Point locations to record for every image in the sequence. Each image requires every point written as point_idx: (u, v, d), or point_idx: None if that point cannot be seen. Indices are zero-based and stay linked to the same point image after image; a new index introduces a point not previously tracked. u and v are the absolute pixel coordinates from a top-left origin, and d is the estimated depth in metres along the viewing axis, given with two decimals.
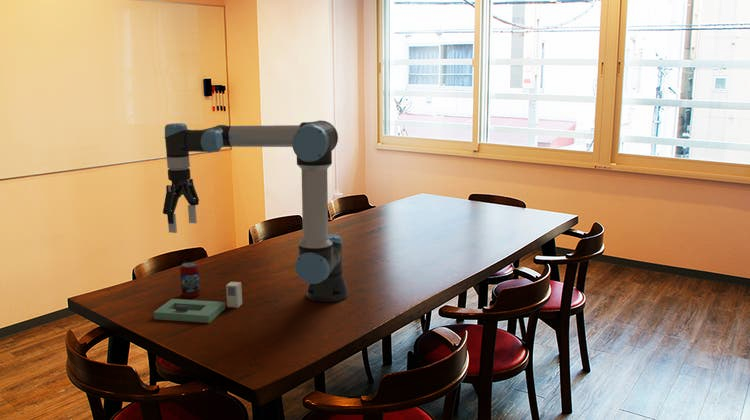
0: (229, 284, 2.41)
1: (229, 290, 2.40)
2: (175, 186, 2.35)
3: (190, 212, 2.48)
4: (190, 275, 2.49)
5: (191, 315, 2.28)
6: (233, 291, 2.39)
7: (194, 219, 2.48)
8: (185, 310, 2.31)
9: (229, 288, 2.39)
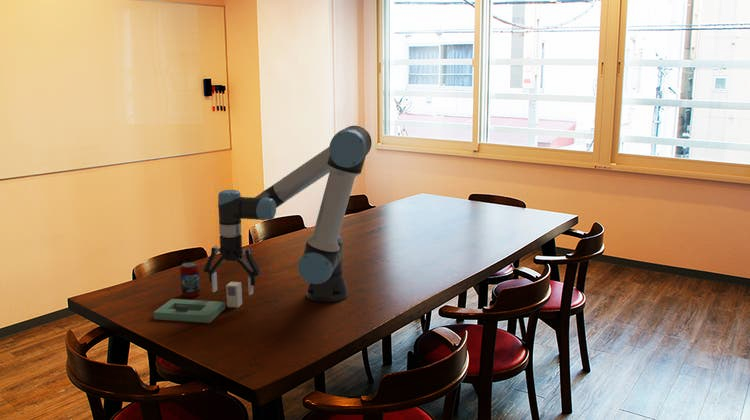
0: (229, 284, 2.41)
1: (229, 290, 2.40)
2: (219, 249, 2.39)
3: None
4: (190, 275, 2.49)
5: (191, 315, 2.28)
6: (233, 291, 2.39)
7: None
8: (185, 310, 2.31)
9: (229, 288, 2.39)
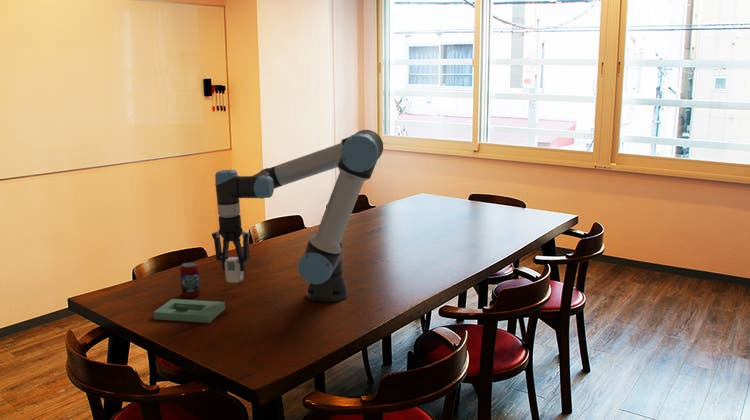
0: (228, 259, 2.39)
1: (229, 265, 2.37)
2: (218, 232, 2.37)
3: None
4: (190, 275, 2.49)
5: (191, 315, 2.28)
6: (233, 266, 2.37)
7: None
8: (185, 310, 2.31)
9: (228, 263, 2.37)
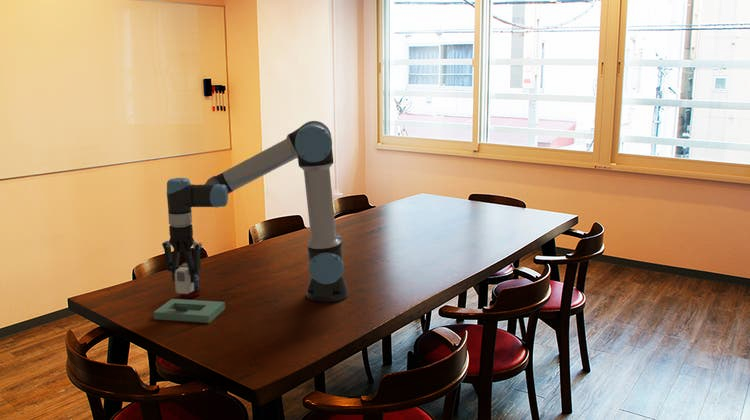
0: (179, 269, 2.32)
1: (178, 275, 2.30)
2: (169, 242, 2.30)
3: None
4: None
5: (191, 315, 2.28)
6: (182, 276, 2.30)
7: None
8: (185, 310, 2.31)
9: (178, 273, 2.30)
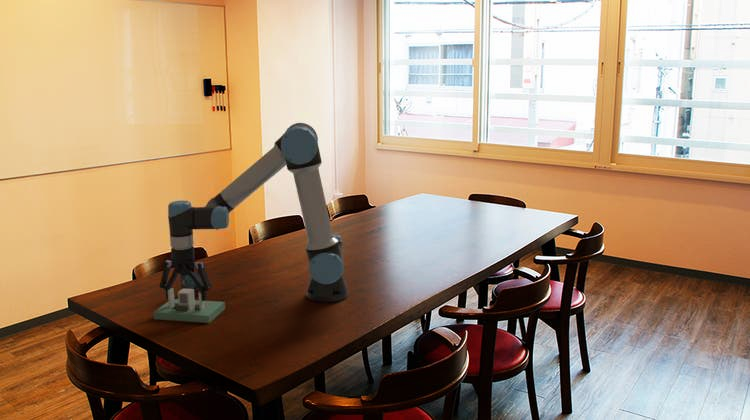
0: (181, 291, 2.33)
1: (181, 297, 2.32)
2: (171, 263, 2.32)
3: None
4: None
5: (191, 315, 2.28)
6: (185, 298, 2.32)
7: None
8: (185, 310, 2.31)
9: (181, 295, 2.32)
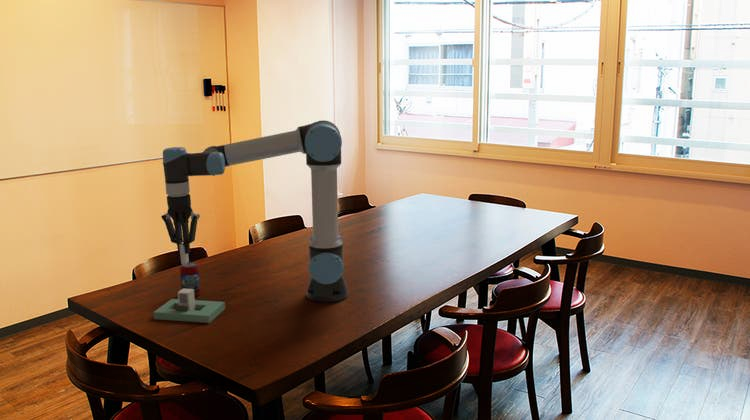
0: (181, 291, 2.33)
1: (181, 297, 2.32)
2: (168, 213, 2.28)
3: None
4: (190, 275, 2.49)
5: (191, 315, 2.28)
6: (185, 298, 2.32)
7: None
8: (185, 310, 2.31)
9: (181, 295, 2.32)
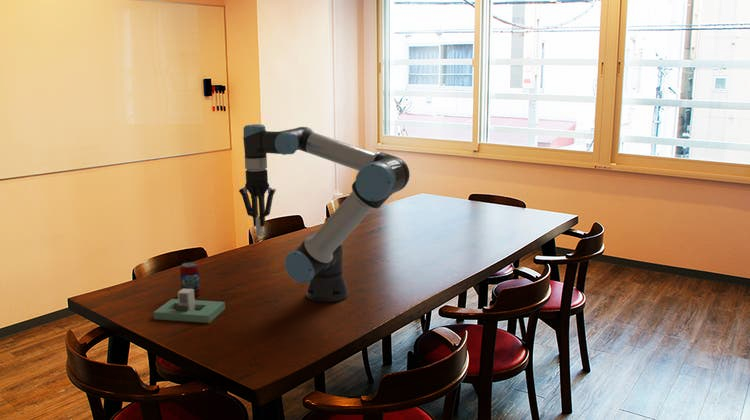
0: (181, 291, 2.33)
1: (181, 297, 2.32)
2: (245, 187, 2.39)
3: None
4: (190, 275, 2.49)
5: (191, 315, 2.28)
6: (185, 298, 2.32)
7: None
8: (185, 310, 2.31)
9: (181, 295, 2.32)
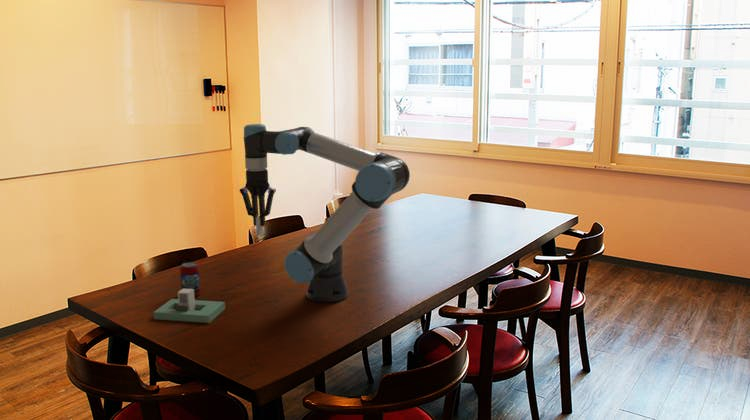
0: (181, 291, 2.33)
1: (181, 297, 2.32)
2: (245, 187, 2.39)
3: None
4: (190, 275, 2.49)
5: (191, 315, 2.28)
6: (185, 298, 2.32)
7: None
8: (185, 310, 2.31)
9: (181, 295, 2.32)
